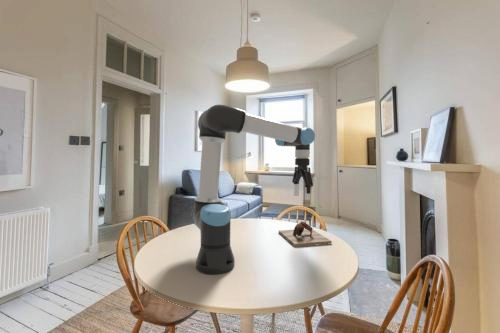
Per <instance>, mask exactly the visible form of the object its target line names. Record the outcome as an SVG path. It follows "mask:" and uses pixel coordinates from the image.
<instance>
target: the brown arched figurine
mask: <svg viewBox="0 0 500 333" xmlns="http://www.w3.org/2000/svg"><path fill="white" fill-rule="evenodd" d="M304 229H306V230H309V231H310V237H311V235H312V230H314V228H313V227H311V225H309V224H307V223H306V222H305V221H302V220H301V221H300V222H299V223H297V224H296V225H295V226H294V229H293V230H294V232H293V235H294V236H296V234H297V235H298V236H301V234H302V232H303V231H304Z"/></svg>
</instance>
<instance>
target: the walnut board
mask: <svg viewBox="0 0 500 333" xmlns="http://www.w3.org/2000/svg"><path fill="white" fill-rule="evenodd" d="M293 232H294V229H283V230H282V229H281V230H280V229H279V230H278V234H279V235H280V236H282V238H284V240H286V241H287V242H288V243H289V244H291V245H292V246H293V247H294V248H297V247H300V248H301V247H309V246H308V245H312V246H317V245H316V244H324V245H328V244H327V243H331V244H332V240H330V239H329V238H328V237H326V236H324V235H322V234H320V232H317V231H316V230H314V229H312V235H311V237H310V231H309V230H306V229H305V228H304V231H303V232H302V234H301V236H298V235H297V234H296V236H294V235H293Z"/></svg>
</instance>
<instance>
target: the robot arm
mask: <svg viewBox="0 0 500 333" xmlns="http://www.w3.org/2000/svg"><path fill="white" fill-rule="evenodd" d="M197 126H198V129H199V132H198V133H199V136H198V137H199V140H200V141H201V142H202V143H201V156H200V170H199V171H200V172H199V184H198V186H199V187H198V196H196V197H195V198H194V206H193V207H192V210H191V219H192V222H193V224H194V225H195V226H196V227H197V228H198V229H199V230H200V247H199V250H198V254H197V257H196V259H195V260H196V261H195V268H196V270H197V271H198V272H200V273H202V274H207V275H219V274H223V273H226V272H230V271H231V270H232V269H233V268H234V267H235V264H236V263H235V256H234V253H233V250H232V246H231V221H232V220H231V219H232V215H231V210H230V208H229V207H228V206H227V205H225V204H222V200H221V198H220V197H219V187H220V174H221V173H220V172H221V160H222V159H221V157H222V145H223V143H224V142H225V141H226V134H227V133H236V134H240V133H242V132H243V133H247V134H251V135H256V136H259V137H260V136H261V137H265V138H270V139H274V142H275V144H276V145H277V146H279V147H295V148H294V149H295V150H294V158H295V159H294V161H295V162H294V165H295V167H294V172H293V175H292V180H291V182H292V184H293V196H294V197H299V195H300V180H301V177H302V178H303V182H304V200H305V201H310V200H311V188H312V187H314V183H313V178H312V173H311V167H308V166H310V164H311V163H310V161H311V160H310V154H311V149H310V148H311V144H312V143H313V142H314V141H315V138H316V133H315V131H314V130H313V129H312V128H310V127H303V128H302V127H298V126H293V125H290V124H287V123H282V122H279V121H275V120H272V119H269V118H264V117H260V116H256V115H253V114H249V113H246V110H243V109H240V108H237V107H235V106H234V107H233V106H230V105H225V104H214V105H212V106H210V107H209V108H208V109H206V110H204V111H203V112H202V113H201V115H200V116H199V118H198V121H197Z"/></svg>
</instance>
